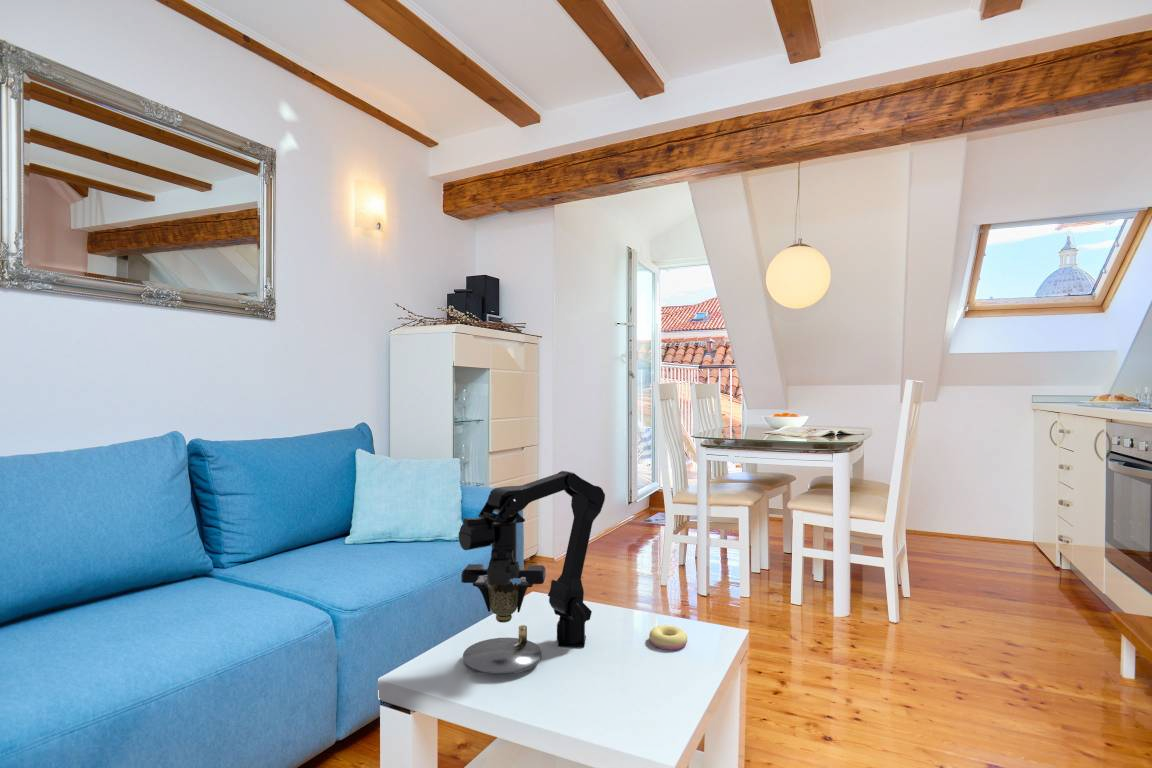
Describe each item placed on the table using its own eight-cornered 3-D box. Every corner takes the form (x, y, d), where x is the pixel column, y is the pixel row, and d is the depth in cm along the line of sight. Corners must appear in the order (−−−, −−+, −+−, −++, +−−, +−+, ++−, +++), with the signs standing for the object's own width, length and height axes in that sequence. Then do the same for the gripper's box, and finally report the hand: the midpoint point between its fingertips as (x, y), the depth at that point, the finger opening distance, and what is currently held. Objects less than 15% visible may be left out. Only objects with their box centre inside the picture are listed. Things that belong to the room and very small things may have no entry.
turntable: (556, 651, 141) (556, 632, 141) (509, 682, 126) (509, 661, 126) (496, 635, 151) (496, 618, 151) (446, 662, 135) (446, 642, 135)
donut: (653, 660, 145) (691, 654, 145) (651, 642, 145) (689, 637, 145) (648, 637, 155) (684, 632, 155) (646, 620, 155) (681, 615, 155)
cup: (514, 628, 134) (515, 591, 134) (483, 625, 135) (483, 589, 135) (523, 616, 141) (523, 581, 141) (493, 613, 142) (493, 579, 142)
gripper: (455, 551, 131) (454, 623, 131) (540, 552, 130) (540, 625, 129) (467, 539, 142) (467, 606, 142) (545, 540, 141) (545, 607, 141)
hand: (504, 611), depth 138 cm, fingers closed on cup, 6 cm apart
